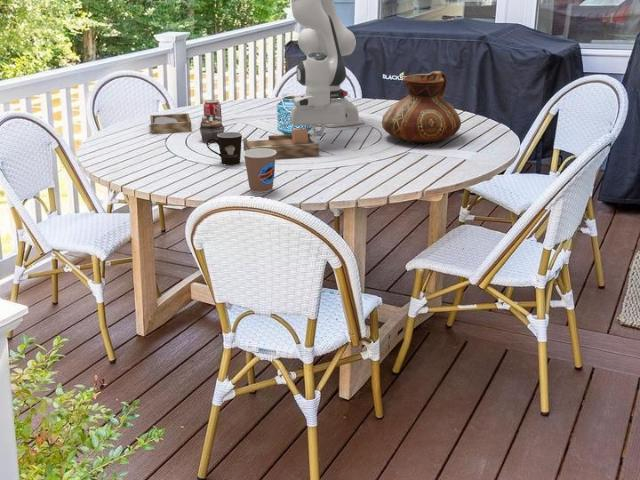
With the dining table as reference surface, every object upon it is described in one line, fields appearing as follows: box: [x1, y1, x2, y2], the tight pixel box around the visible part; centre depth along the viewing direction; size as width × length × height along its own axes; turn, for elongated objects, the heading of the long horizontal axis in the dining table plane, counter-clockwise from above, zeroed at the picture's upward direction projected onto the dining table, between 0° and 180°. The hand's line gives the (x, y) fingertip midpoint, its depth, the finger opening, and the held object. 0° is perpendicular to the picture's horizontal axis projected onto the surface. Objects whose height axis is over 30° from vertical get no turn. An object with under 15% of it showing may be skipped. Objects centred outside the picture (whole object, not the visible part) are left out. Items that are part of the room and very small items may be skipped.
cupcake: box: [199, 114, 225, 144], centre depth 308 cm, size 10×10×10 cm
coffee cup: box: [242, 148, 277, 194], centre depth 247 cm, size 10×10×12 cm
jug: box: [381, 70, 462, 146], centre depth 302 cm, size 30×30×25 cm
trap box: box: [242, 132, 320, 160], centre depth 290 cm, size 25×17×4 cm
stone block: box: [154, 117, 178, 124], centre depth 331 cm, size 12×5×10 cm
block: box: [291, 127, 309, 143], centre depth 294 cm, size 5×5×4 cm
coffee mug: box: [206, 131, 243, 166], centre depth 278 cm, size 12×9×10 cm
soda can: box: [203, 99, 223, 123], centre depth 325 cm, size 7×7×12 cm
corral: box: [149, 112, 192, 135], centre depth 330 cm, size 16×18×4 cm
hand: (318, 136), depth 296 cm, fingers closed
